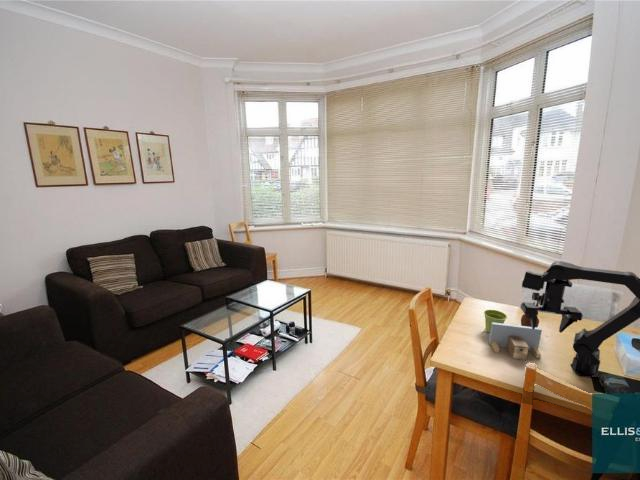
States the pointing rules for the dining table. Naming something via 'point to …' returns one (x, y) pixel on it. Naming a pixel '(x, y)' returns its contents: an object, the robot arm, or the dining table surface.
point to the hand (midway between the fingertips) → (546, 330)
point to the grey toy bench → (503, 331)
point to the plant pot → (493, 318)
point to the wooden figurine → (528, 319)
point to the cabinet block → (517, 348)
